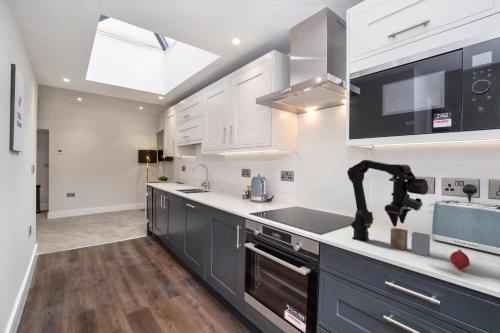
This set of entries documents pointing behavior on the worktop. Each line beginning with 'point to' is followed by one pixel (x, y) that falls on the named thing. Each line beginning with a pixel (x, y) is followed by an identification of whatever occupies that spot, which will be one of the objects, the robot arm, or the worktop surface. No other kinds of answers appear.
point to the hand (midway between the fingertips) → (398, 224)
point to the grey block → (420, 244)
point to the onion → (459, 260)
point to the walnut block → (398, 238)
